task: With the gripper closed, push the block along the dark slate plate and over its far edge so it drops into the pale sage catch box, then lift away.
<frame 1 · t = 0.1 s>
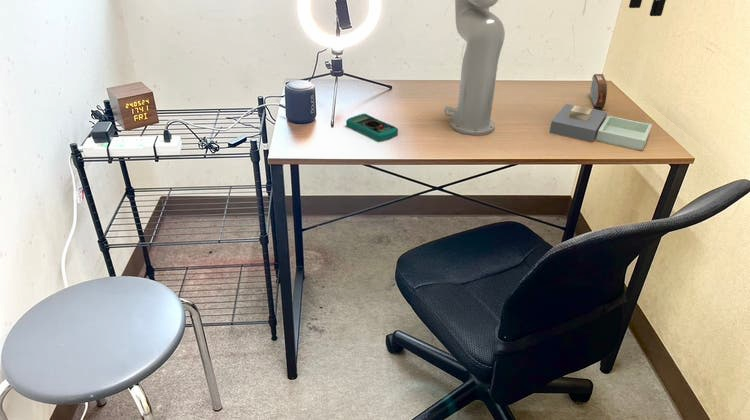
hand: (644, 11, 149), 31 cm above the table, tool pointing down, fingers open, 9 cm apart
tin: (595, 103, 178), on the table
catch box: (622, 137, 155), on the table
block: (580, 116, 158), point 3 cm above the table, touching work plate
digital multimeter: (371, 132, 156), on the table
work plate: (577, 127, 160), on the table
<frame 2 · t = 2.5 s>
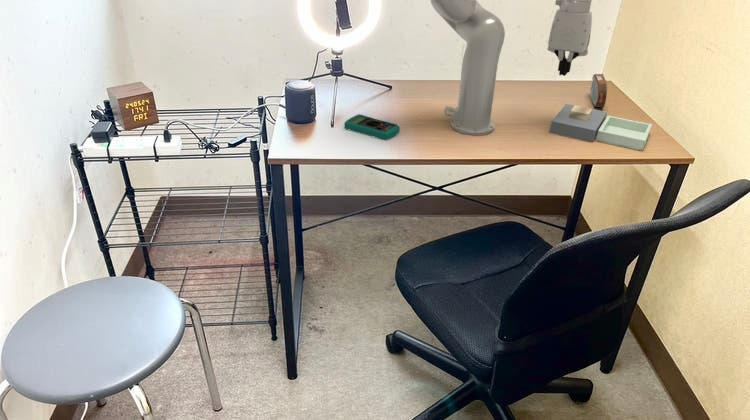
hand: (563, 74, 156), 15 cm above the table, tool pointing down, fingers closed
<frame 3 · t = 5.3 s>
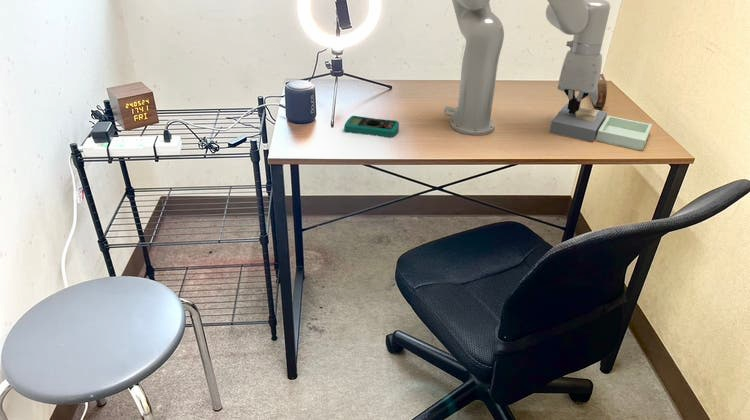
hand: (572, 112, 159), 4 cm above the table, tool pointing down, fingers closed
block: (586, 117, 157), point 3 cm above the table, touching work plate
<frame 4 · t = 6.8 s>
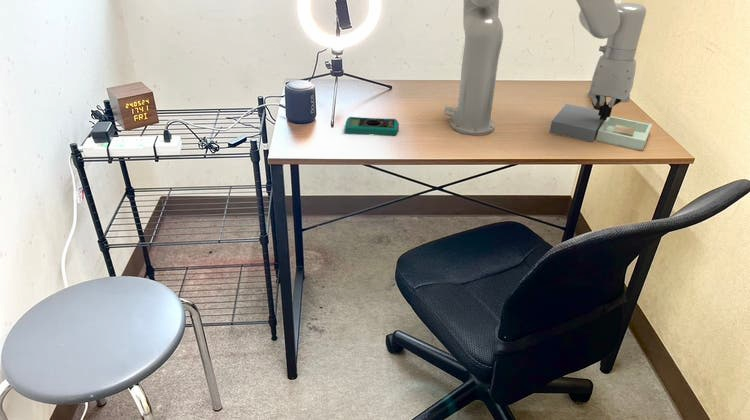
hand: (603, 118, 155), 4 cm above the table, tool pointing down, fingers closed
block: (624, 129, 153), point 2 cm above the table, tilted 180°, touching catch box
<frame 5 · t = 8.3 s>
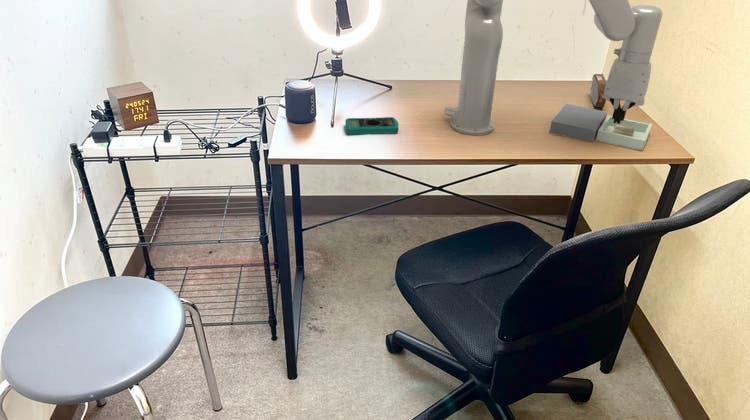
hand: (617, 121, 153), 4 cm above the table, tool pointing down, fingers closed
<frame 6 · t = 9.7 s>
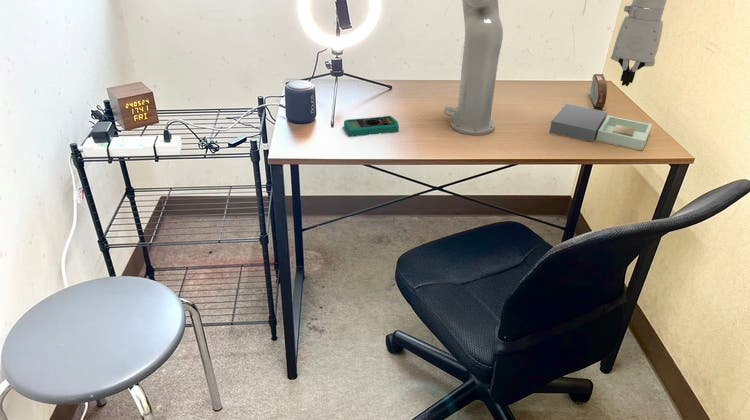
hand: (625, 84, 148), 15 cm above the table, tool pointing down, fingers closed
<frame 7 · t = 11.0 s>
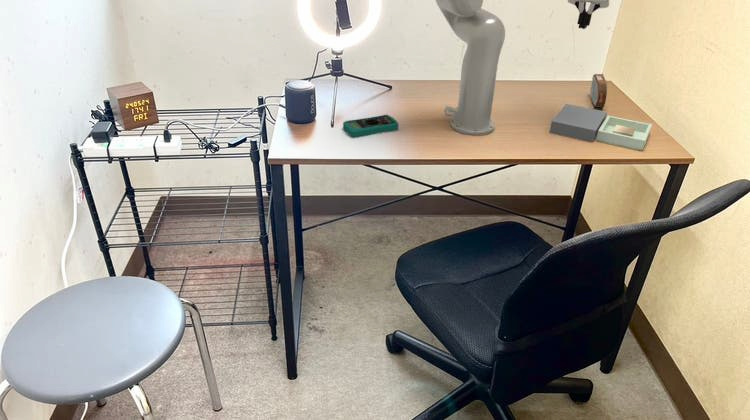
hand: (582, 27, 152), 26 cm above the table, tool pointing down, fingers closed
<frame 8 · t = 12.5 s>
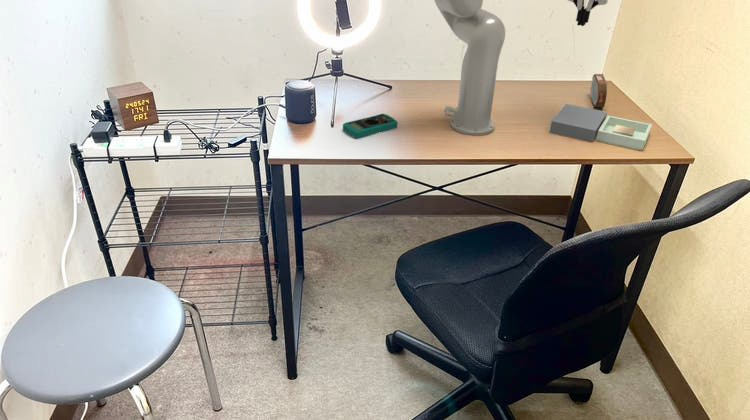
hand: (581, 24, 153), 27 cm above the table, tool pointing down, fingers closed
at the end: block inside the target area on the catch box (0.4 cm from its centre), point 2.5 cm above the catch box's base; the gripper is holding nothing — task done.
